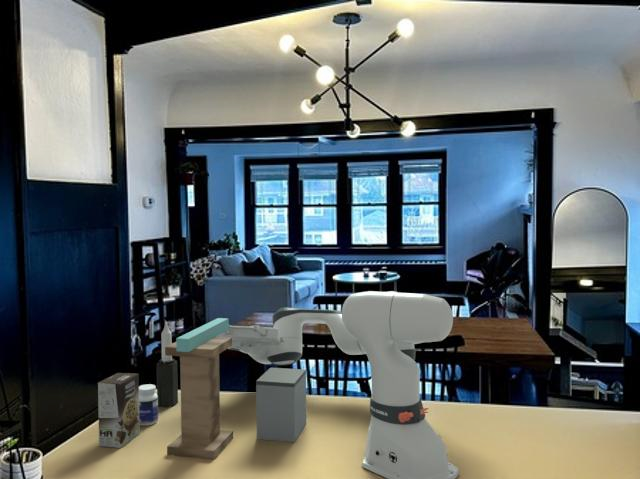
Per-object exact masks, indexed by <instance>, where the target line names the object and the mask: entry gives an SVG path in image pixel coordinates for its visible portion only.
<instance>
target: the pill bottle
mask: <svg viewBox="0 0 640 479" xmlns="http://www.w3.org/2000/svg"><path fill="white" fill-rule="evenodd" d="M139 420H140V426H143V427H144V426H151V425H155V424H157V422H158V421H159V407H158V396H157V385H155V384H151V383H149V384H141V385H139Z"/></svg>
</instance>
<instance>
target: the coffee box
mask: <svg viewBox="0 0 640 479" xmlns="http://www.w3.org/2000/svg"><path fill="white" fill-rule="evenodd" d="M139 375H140V374H139V373H135V372H134V373H130V372H116V373H115V374H112V375H110V376H109V377H107V378H104V379H103V380H100V381H98V382H97V394H98V395H97V402H98V404H97V406H98V408H97V410H98V446H99V447H106V448H107V447H109V448H117V449H121V448H123V447H125V445H127V444H128V443H129V442H131V441H132V440H134V439H135V438H136V437H137V436H139V435H141V434H140V433H141V432H140V427H141V425H140V420H139V386H140V381H139V380H140V378H139V377H140V376H139Z"/></svg>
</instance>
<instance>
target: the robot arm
mask: <svg viewBox="0 0 640 479" xmlns="http://www.w3.org/2000/svg"><path fill="white" fill-rule="evenodd" d="M453 323H454V315H453V311H452V308H451V306H450V304H449V303H448V301H446V299H445V298H443V297H440V296H434V295H429V294H425V293H416V292H415V293H413V292H412V293H410V292H401V291H399V292H398V291H396V290H395V291H394V290H391V291H390V290H389V291H374V290H368V291H367V290H366V291H361V292H355V293H351V294H350V295H349V296H348V297H347V298H346V299H345V300H344V302H343V304H342V308H341V310H337V309H336V310H335V309H319V308H318V309H315V308H297V307H287V306H286V307H284V306H283V307H280V308H279V309H278V310H276V312H274V314H273V315H272V327H268V326H266V327H265V326H260V325H259V324H254V325H250V326H247V325H246V326H243V325H240V326H239V325H231V324H229V330H227V331H225V332H223V333H222V334H220V335H218V336H216V337H226V338H232V346H231V347H229V348H228V350H232V351H237V352H241V353H244V354H246V355H247V354H248V355H249V356H250V357H251V358H252V359H253V360H254V361H256V362H258V363H260V364H263V365H274V366H280V367H281V366H283V367H284V366H291V365H293V364H295V363H296V362H298V361H299V360H300V359H301V357H302V356H303V326H304V324H322V325H323V324H324V325H327V327H328V328H329V330H330V333H331V336H332V338H333V340H334V342H335V344H336V346H337V347H338V348H339V349H340V350H341V351H342V352H343V353H345V354H346V355H351V356H353V355H354V356H355V355H356V356H357V355H366V356H367V359H368V362H369V363H368V364H369V366H370V375H371V376H370V377H371V396H370V398H369V413H370V415H371V417H370V421H369V426H368V428H367V433H366V434H367V436H366V445H365V452H364V458H363V460H362V462H361V466H362V468H363V469H366V470H368V471H371V472H373V473H375V474H377V475H379V476H382V477H384V478H385V479H456V478H457V477H458V476H459V474H460V470H459V468H458V467H457V465H455V464H453V463H452V462H450V461H449V459H448V450H447V446H446V444H445V443H444V441H443V439H442V436H441V435H440V434H438V433H437V432H436V430H435V429H434V428H433V427H432V426H431V424H430V423H429V422H428V420H427V419H426V414H427V413H428V414H429V411H428V410H429V408H428V407H424V405H423V401H422V399H421V398H420V395H421V394H420V390H421V388H420V385H421V384H420V383H421V380H420V379H421V376H420V375H421V374H420V372H421V371H420V368H419V366H418V363H417V362H416V361H415V360H416V349H415V345H417V344H422V343H432V342H442V341H443V340H444V339H446V338H447V337H448V335H449V334H450V333H451V330H452V328H453V325H454V324H453Z"/></svg>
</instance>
